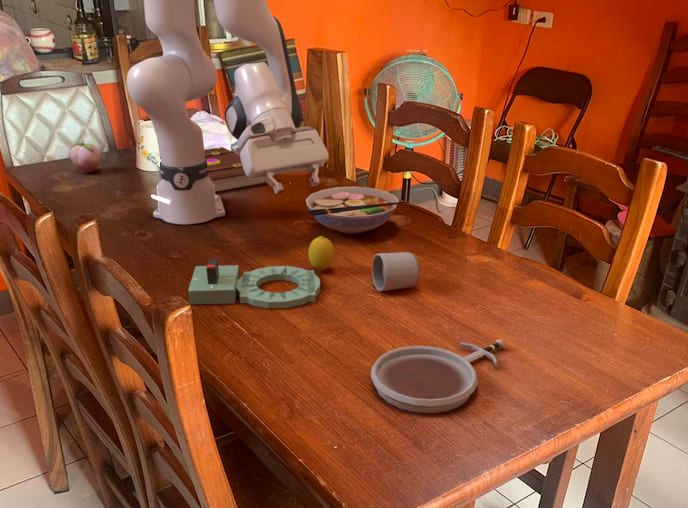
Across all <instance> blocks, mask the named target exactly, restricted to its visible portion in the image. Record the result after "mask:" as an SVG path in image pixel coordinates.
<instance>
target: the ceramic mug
mask: <svg viewBox="0 0 688 508" xmlns="http://www.w3.org/2000/svg"><path fill="white" fill-rule="evenodd" d="M420 266H421V265H420V262H419V259H418V257H417V256H416V255H415V254H414V253H413V252H405V251H404V252H403V251H402V252H401V251H400V252H380V253H379V252H378V253H376V254H375V255H374V257H373V259H372V262H371V274H372V275H371V276H372V281H373V285H374V286H375V288H376V290H378V291H379V292H387V291H393V290H400V289H409V288H412V287H414V286H416V285H417V284H418V282H419V280H420V277H421V267H420Z"/></svg>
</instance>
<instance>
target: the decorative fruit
mask: <svg viewBox="0 0 688 508" xmlns="http://www.w3.org/2000/svg"><path fill="white" fill-rule="evenodd" d="M69 158H70V161H71V162H72V163H73V165H74V166H75V167H76V168H78V169H79V170H80V171H83V172H84V173H87V174H91V172H93V171H96V170H97V168H98V167H99V166H100V164H101V159H102V154H101V151H100V149H99V148H98V147H97V146H95V145H94V144H92V143H84V139H83V140H81V142H77V143H74V144H73V145H72V148H71V150H70V152H69Z"/></svg>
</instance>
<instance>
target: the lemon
mask: <svg viewBox="0 0 688 508" xmlns="http://www.w3.org/2000/svg"><path fill="white" fill-rule="evenodd" d="M308 247H309V248H308V260H309V262H310V264H311V266H312V267H314V268H315V269H317V270H319V271H320V272H324V270H326V269H328V268H330V267H331V266H332V264H333V263H334V259H335V249H334V245H333V242H332V241H331V240H330V239H329V238H327V237H324V236H323V235H320V236H318V237H316V238H314V239H313V240H311V243H310V244H309V246H308Z"/></svg>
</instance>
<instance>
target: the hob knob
mask: <svg viewBox="0 0 688 508" xmlns="http://www.w3.org/2000/svg"><path fill="white" fill-rule="evenodd" d="M206 266H207V268H206V270H207V279H208V284H217V281H218V277H219V269H218V266H219V261H218V259H208V261H207V265H206Z"/></svg>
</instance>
